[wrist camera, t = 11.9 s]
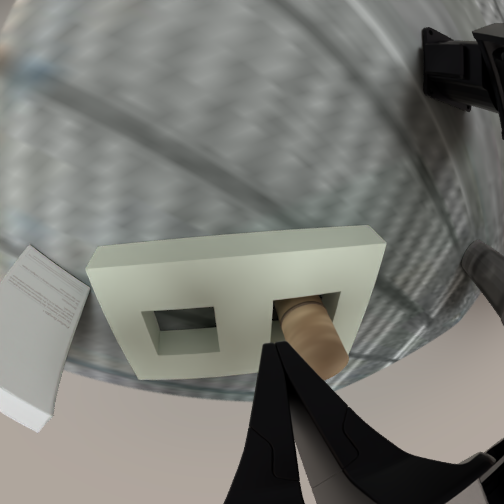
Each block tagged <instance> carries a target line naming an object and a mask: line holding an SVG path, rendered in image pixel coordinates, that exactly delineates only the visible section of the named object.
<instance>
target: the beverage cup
mask: <svg viewBox="0 0 504 504" xmlns="http://www.w3.org/2000/svg"><path fill="white" fill-rule="evenodd" d="M462 267H463V269H464V270H465V271H466V272H467V274H468V275H469V277H470V278H471V279H472V280H473V282H474V283H475V284H476V285H477V287H478V288H479V289H480V291H481V292H482V293H483V295H484V296H485V297H486V299H487V300H488V301H489V303H490V304H491V305H492V307H493V308H494V310H495V311H496V312H497V314H498V315H499V317H500V318H501V321H502V323H503V325H504V256H503V255H501V254H500V253H499V252H497V251H496V250H494V249H493V248H492V247H490V246H489V245H487V244H485V243H483V242H482V241H481V240H476V241H474V242H473V243H472V244H471V245H470V246H469V247H468V249H467V250H466V252H465V254H464V256H463V259H462Z"/></svg>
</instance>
